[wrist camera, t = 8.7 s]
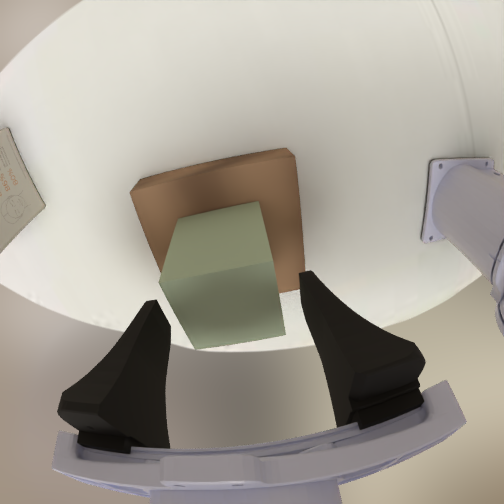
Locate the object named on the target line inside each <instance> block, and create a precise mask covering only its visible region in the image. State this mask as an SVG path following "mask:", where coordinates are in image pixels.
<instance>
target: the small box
mask: <svg viewBox="0 0 504 504" xmlns="http://www.w3.org/2000/svg"><path fill="white" fill-rule="evenodd" d="M44 208H45V205H44V203H43V201H42V199H41V198H40V196H39V194H38V192H37V190H36V188H35V186H34V184H33V182H32V180H31V178H30V176H29V174H28V172H27V170H26V168H25V166H24V164H23V162H22V159H21V157H20V155H19V153H18V150H17V148H16V146H15V143H14V141H13V139H12V136H11V134H10V131H9V129H8V128H4V129H2V130H0V253H1V252H2V251H3V250H4V249H5V248H6V247H7V246H8V244H9V243H10V242H11V241H12V240H13V239H14V238H15V237H16V236H17V235H18V234H19V233H20V232H21V231H22V229H23V228H24V227H25V226H26V225H27V224H28V223H29V222H30V221H31V220H32V219H33V218H35V217H36V216H37V215H38V214H39V213H40V212H41V211H42V210H43V209H44Z"/></svg>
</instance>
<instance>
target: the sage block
mask: <svg viewBox="0 0 504 504" xmlns="http://www.w3.org/2000/svg"><path fill="white" fill-rule="evenodd" d="M159 284H160V286H161V288H162V290H163V292H164V294H165V296H166V298H167V300H168V302H169V304H170V306H171V307H172V309H173V311H174V313H175V315H176V317H177V319H178V320H179V322H180V324H181V326H182V328H183V329H184V331H185V333H186V335H187V336H188V338H189V340H190V342H191V343H192V345H193V347H194V348H195V350H196V349H204V348H211V347H219V346H225V345H232V344H238V343H244V342H250V341H256V340H262V339H267V338H272V337H278V336H283V335H286V333H285V327H284V321H283V315H282V309H281V303H280V297H279V291H278V286H277V280H276V274H275V269H274V263H273V258H272V254H271V250H270V246H269V241H268V237H267V233H266V229H265V225H264V221H263V217H262V213H261V209H260V205H259V201H256V202H251V203H246V204H241V205H236V206H232V207H227V208H222V209H218V210H213V211H209V212H204V213H200V214H196V215H191V216H187V217H183V218H179V219H178V220H177V223H176V227H175V230H174V233H173V236H172V239H171V242H170V246H169V249H168V252H167V255H166V259H165V262H164V266H163V269H162V273H161V276H160V280H159Z"/></svg>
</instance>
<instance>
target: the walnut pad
mask: <svg viewBox="0 0 504 504" xmlns="http://www.w3.org/2000/svg"><path fill="white" fill-rule="evenodd" d="M130 195H131V198H132V201H133V204H134V207H135V209H136V212H137V215H138V217H139V220H140V223H141V225H142V228H143V231H144V233H145V236H146V238H147V241H148V243H149V246H150V248H151V251H152V253H153V255H154V258H155V260H156V263H157V265H158V267H159V270H160V272H161V273H162V269H163V266H164V262H165V259H166V255H167V252H168V249H169V246H170V242H171V239H172V236H173V233H174V230H175V227H176V223H177V220H178V219H179V218H183V217H187V216H191V215H196V214H200V213H204V212H209V211H213V210H218V209H222V208H227V207H232V206H236V205H241V204H246V203H251V202H256V201H259V205H260V209H261V213H262V217H263V221H264V225H265V229H266V233H267V237H268V241H269V246H270V250H271V254H272V258H273V263H274V269H275V274H276V280H277V286H278V291H279V293H283V292H288V291H293V290H298V289H300V283H299V273H301V272H305V259H304V245H303V231H302V219H301V208H300V197H299V187H298V178H297V168H296V160H295V156H294V155H293V154H292V153H291V152H290V151H289V150H288V149H287V148H282V149H275V150H269V151H263V152H257V153H251V154H246V155H240V156H235V157H230V158H225V159H220V160H216V161H211V162H206V163H202V164H197V165H193V166H189V167H185V168H181V169H177V170H173V171H169V172H165V173H161V174H158V175H154V176H150V177H147V178H143V179H140V180H139V181H138V183H137V184H136V185H135V186H134V187H133V189H132V190H131V191H130Z"/></svg>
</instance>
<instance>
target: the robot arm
mask: <svg viewBox="0 0 504 504" xmlns="http://www.w3.org/2000/svg"><path fill="white" fill-rule="evenodd" d="M439 164H440V166H439ZM430 236H431V237H430ZM445 238H447V239H448V240H449V241H450V242H451V243H452V244H453V245H454V246H455V247H456V248H457V249H458V250H460V251H461V252H462V253H463V254H464V255H465V256H466V257H467V258H468V259H469V260H470V261H471V262H472V264H473V265H474V266H475V267H476V268H477V269H478V270H479V271H480V272H481V273H482V274H483V275H484V276H485V277H486V278H487V279H488V281H489V282H490V283H491V284H492V285H493V288H492V291H491V294H490V295H491V296H492V297H493V298H494V299H495V300H496V302H497V304H496V308H495V316H496V321H497V324H498V327H499V329H500V331H501V333H502V334H503V336H504V175H503V174H501V173H499V172H498V171H496V170H494V160H493V159H492V158H459V159H437V160H432V161H431V163H430V172H429V185H428V195H427V204H426V212H425V219H424V226H423V232H422V238H421V240H422V241H423V242H424V243H429V242H433V241H437V240H441V239H445ZM299 283H300V295H301V304H302V308H303V312H304V316H305V319H306V322H307V325H308V327H309V330H310V332H311V335H312V338H313V340H314V343H315V345H316V347H317V350H318V353H319V355H320V358H321V361H322V365H323V368H324V372H325V375H326V380H327V383H328V388H329V392H330V397H331V401H332V406H333V410H334V415H335V420H336V425H337V428H334V429H330V430H327V431H323V432H318V433H315V434H310V435H305V436H301V437H296V438H291V439H285V440H280V441H274V442H267V443H260V444H253V445H244V446H233V447H221V448H201V449H170V443H169V436H168V429H167V419H166V402H165V385H166V375H167V366H168V360H169V352H170V345H171V326H170V324H169V322H168V320H167V318H166V316H165V315H164V313H163V311H162V309H161V307H160V305H159V303H158V301H157V300H151V301H146V302H145V303H144V305H143V306H142V308H141V309H140V310H139V312H138V313H137V315H136V316H135V318H134V319H133V321H132V322H131V324H130V325H129V326H128V328H127V329H126V331H125V332H124V334H123V335H122V336H121V338H120V339H119V340H118V342H117V343H116V344H115V346H114V347H113V348H112V349H111V350H110V352H109V353H108V354H107V355H106V356H105V357H104V358H103V359H102V361H100V362H99V363H98V364H97V365H96V366H95V367H94V368H93V369H92V370H91V371H90V372H89V373H88V374H87V375H85V376H84V377H83V378H82V379H81V380H79V381H78V382H77V383H75V384H74V385H73V386H71V387H70V388H68V389H67V390H65V391H64V392H63V393H62V396H61V400H60V403H59V407H58V411H57V412H58V415H59V416H60V417H61V418H62V419H63V420H64V421H66V422H67V423H69V424H70V425H72V426H73V427H74V428H76V429H77V430H79V434H78V435H76V434H73V433H70V432H65V431H59V432H58V436H57V441H56V446H55V451H54V457H53V462H52V469H53V470H55V471H57V472H59V473H62V474H64V475H66V476H68V477H71V478H73V479H75V480H78V481H80V482H83V483H87V484H90V485H94V486H98V487H101V488H106V489H109V490H114V491H118V492H123V493H127V494H132V495H137V496H143V497H149V498H150V504H342V500H341V496H340V492H339V487H338V485H341V484H344V483H348V482H351V481H354V480H357V479H360V478H363V477H366V476H368V475H371V474H374V473H376V472H379V471H381V470H384V469H386V468H389V467H391V466H393V465H396V464H398V463H400V462H402V461H405V460H407V459H409V458H411V457H413V456H415V455H417V454H419V453H421V452H423V451H425V450H427V449H429V448H431V447H433V446H435V445H437V444H439V443H440V442H442V441H444V440H445V439H447V438H448V437H449V436H451V435H452V434H453V433H454V432H456V431H457V430H458V429H460V428H461V427H462V426H463V425H465V424H466V422H467V421H466V419H465V417H464V415H463V412H462V410H461V408H460V406H459V404H458V402H457V400H456V397H455V395H454V393H453V391H452V389H451V388H450V385H449V383H448V382H447V381H446V380H444V381H442V382H440V383H438V384H436V385H434V386H432V387H430V388H428V389H426V390H424V391H423V392H422V393H421V392H420V390H419V387H420V383H419V381H418V377H419V375H420V374H421V372H422V370H423V368H424V366H425V359H424V357H423V355H422V353H421V352H420V350H419V349H418V347H417V346H416V345H415V343H414V342H411V341H408V340H405V339H403V338H400V337H397V336H395V335H393V334H391V333H389V332H387V331H384V330H383V329H381V328H379V327H377V326H376V325H374V324H372V323H370V322H369V321H367V320H366V319H364V318H363V317H361V316H360V315H358V314H357V313H356V312H354V311H353V310H352V309H350V308H349V307H348V306H347V305H346V304H344V303H343V302H342V301H341V300H340V299H339V298H338V297H336V296H335V295H334V294H333V293H332V292H331V291H330V290H329V289H328V288H327V287H326V286H325V285H324V284H323V283H322V282H321V281H320V279H319V278H318V277H317V276H316V275H315V274H314V272H312V271H306V272H301V273H299Z"/></svg>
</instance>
